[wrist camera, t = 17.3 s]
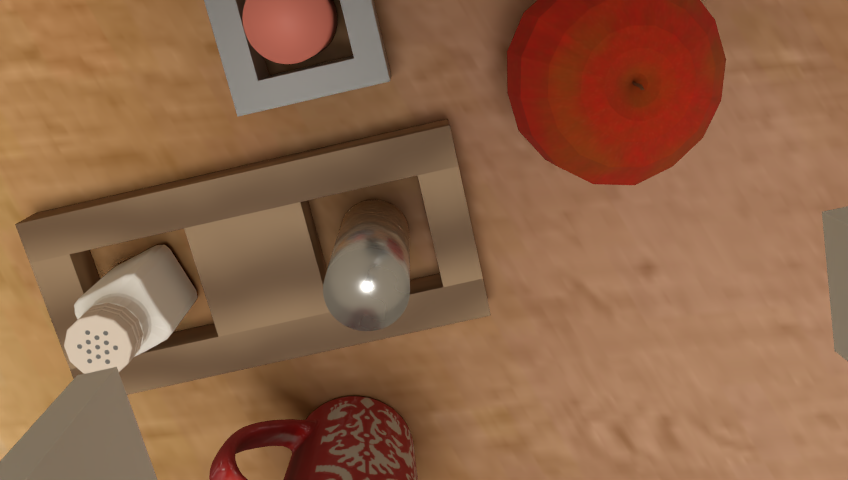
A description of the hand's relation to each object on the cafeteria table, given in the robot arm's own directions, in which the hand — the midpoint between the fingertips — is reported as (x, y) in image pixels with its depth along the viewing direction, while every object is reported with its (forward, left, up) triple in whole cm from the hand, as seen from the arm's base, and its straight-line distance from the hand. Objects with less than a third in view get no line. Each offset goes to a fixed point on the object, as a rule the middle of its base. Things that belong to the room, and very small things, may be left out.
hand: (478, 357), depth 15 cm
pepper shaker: (+6, -18, -32) cm, 37 cm away
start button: (-7, -5, -31) cm, 32 cm away
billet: (+6, -5, -32) cm, 32 cm away
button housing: (-7, -6, -32) cm, 33 cm away
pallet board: (+6, -11, -32) cm, 34 cm away
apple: (-1, +9, -32) cm, 33 cm away
